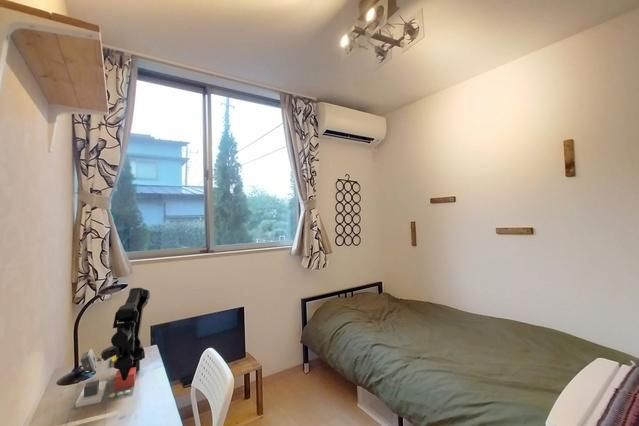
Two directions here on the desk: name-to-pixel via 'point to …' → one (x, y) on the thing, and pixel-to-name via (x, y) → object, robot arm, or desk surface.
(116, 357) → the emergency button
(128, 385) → the red block
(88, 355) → the electrical switch
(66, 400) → the desk surface
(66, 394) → the desk surface
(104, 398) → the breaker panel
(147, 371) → the desk surface
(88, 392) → the grey cube
